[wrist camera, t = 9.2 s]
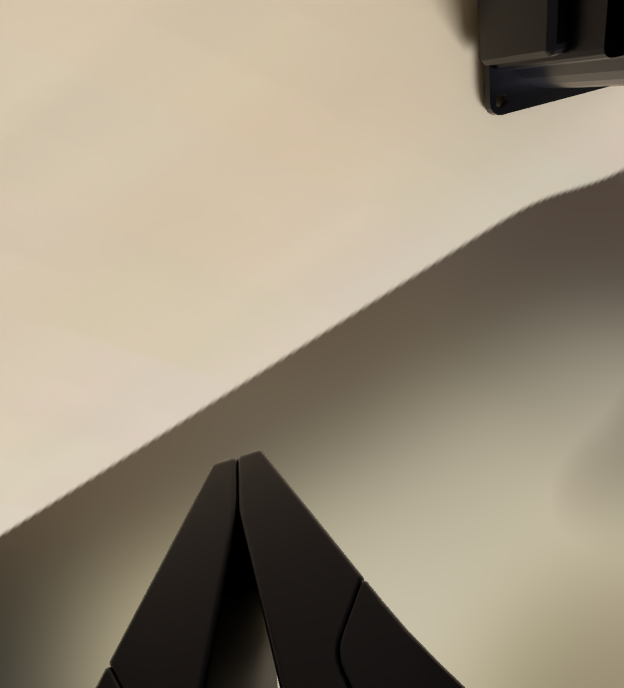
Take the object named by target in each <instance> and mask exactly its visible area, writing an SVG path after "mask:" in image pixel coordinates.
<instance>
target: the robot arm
mask: <svg viewBox="0 0 624 688" xmlns="http://www.w3.org/2000/svg"><path fill="white" fill-rule="evenodd" d="M478 9H479V41H480V60H481V61H482V62H483V64H484V96H485V108H486V110H487V112H488V113H490V114H492V115H503V114H507V113H511V112H514V111H518V110H522V109H526V108H530V107H533V106H537V105H541V104H545V103H548V102H552V101H556V100H560V99H564V98H567V97H571V96H575V95H579V94H582V93H586V92H590V91H594V90H598V89H601V88H605V87H609V86H624V0H478ZM499 95H501V96H502V103H501V105H500V106H499V107H497V105H496V99H497V97H498V96H499ZM110 666H111V667H108V668H106V669H105V671H104V673H103V675H102V677H101V679H100V680H99V682H98V684H97V686H96V688H278V687H277V677H278V681H279V685H280V688H465V687H464V686H463V685H462V684H461V683H460V682H459V681H458V680H457V679H456V678H455V677H454V676H453V675H451V674H450V673H449V672H448V671H447V670H446V669H445V668H444V667H443V666H442V665H441V664H440V663H439V662H438V661H437V660H436V659H435V658H434V657H433V656H432V655H431V654H430V653H429V652H428V651H427V650H426V649H425V647H423V645H422V644H421V643H420V642H419V641H418V640H417V639H416V638H415V637H414V636H413V635H412V634H411V633H410V632H409V631H408V630H407V629H406V628H405V627H404V625H403V624H402V623H401V622H400V621H399V619H398V618H397V617H396V616H395V615H394V614H393V613H392V611H391V610H390V609H389V608H388V607H387V606H386V604H385V603H384V602H383V601H382V600H381V598H380V597H379V596H378V595H377V593H376V592H375V591H374V590H373V589H372V587H371V586H370V585H369V584H368V582H366V581H364V578H363V576H362V575H361V574H360V573H359V571H358V570H357V569H356V568H355V567H354V565H353V564H352V563H351V562H350V560H349V559H348V558H347V556H346V555H345V554H344V553H343V551H342V550H341V549H340V548H339V546H338V545H337V544H336V543H335V542H334V540H333V539H332V538H331V537H330V535H329V534H328V533H327V531H326V530H325V529H324V528H323V526H322V525H321V524H320V523H319V521H318V520H317V519H316V518H315V516H314V515H313V514H312V513H311V511H310V510H309V509H308V508H307V507H306V505H305V504H304V503H303V501H302V500H301V499H300V498H299V497H298V495H297V494H296V493H295V492H294V490H293V489H292V488H291V486H290V485H289V484H288V483H287V481H286V480H285V479H284V478H283V477H282V475H281V474H280V473H279V471H278V470H277V469H276V468H275V467H274V465H273V464H272V463H271V461H270V460H269V459H268V458H267V457H266V455H265V454H264V453H263V452H262V451H261V450H257V451H253V452H250V453H247V454H244V455H241V456H240V457H239V459H236V458H231V459H228V460H224V461H221V462H218V463H216V464H214V465H213V466H212V468H211V470H210V472H209V474H208V476H207V478H206V479H205V482H204V483H203V485H202V487H201V489H200V491H199V493H198V495H197V496H196V499H195V500H194V502H193V504H192V506H191V508H190V510H189V512H188V514H187V515H186V518H185V519H184V521H183V523H182V525H181V527H180V529H179V531H178V533H177V535H176V536H175V538H174V540H173V542H172V544H171V546H170V548H169V550H168V552H167V554H166V555H165V557H164V559H163V561H162V563H161V565H160V567H159V569H158V571H157V573H156V574H155V577H154V578H153V580H152V582H151V584H150V586H149V588H148V590H147V592H146V593H145V595H144V597H143V599H142V601H141V603H140V605H139V607H138V609H137V611H136V612H135V614H134V616H133V618H132V620H131V622H130V624H129V626H128V628H127V630H126V631H125V633H124V635H123V637H122V639H121V641H120V643H119V645H118V647H117V649H116V651H115V652H114V654H113V656H112V658H111V660H110Z"/></svg>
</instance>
